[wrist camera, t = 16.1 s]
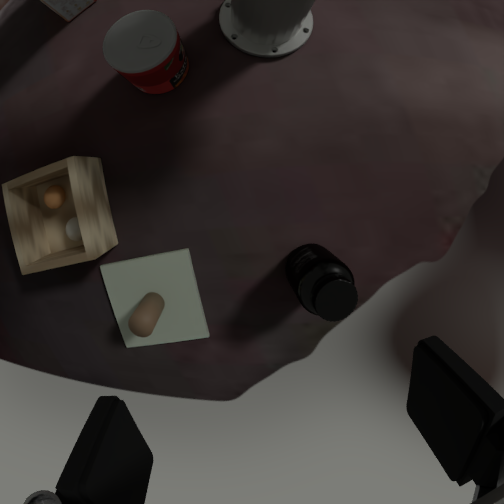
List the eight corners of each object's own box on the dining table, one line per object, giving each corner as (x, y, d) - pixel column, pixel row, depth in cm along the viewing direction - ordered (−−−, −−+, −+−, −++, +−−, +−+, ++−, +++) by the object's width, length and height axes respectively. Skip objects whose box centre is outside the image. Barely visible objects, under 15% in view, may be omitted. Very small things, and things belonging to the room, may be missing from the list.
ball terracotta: (49, 187, 37) (37, 189, 34) (67, 181, 37) (55, 182, 34) (53, 209, 38) (42, 212, 35) (71, 204, 38) (60, 207, 35)
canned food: (189, 93, 36) (174, 66, 26) (130, 99, 36) (98, 77, 25) (191, 42, 34) (178, 4, 24) (133, 49, 34) (106, 16, 23)
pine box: (33, 180, 37) (1, 184, 30) (100, 157, 37) (73, 155, 30) (51, 258, 40) (22, 275, 33) (118, 243, 40) (95, 259, 33)
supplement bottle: (287, 294, 44) (305, 336, 32) (282, 246, 42) (300, 274, 30) (334, 286, 44) (366, 323, 32) (331, 239, 42) (366, 263, 30)
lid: (102, 263, 42) (78, 282, 34) (188, 247, 42) (179, 264, 34) (128, 343, 45) (112, 373, 37) (209, 333, 45) (205, 364, 37)
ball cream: (70, 218, 38) (59, 221, 35) (88, 212, 38) (78, 216, 35) (75, 240, 39) (64, 245, 36) (94, 235, 39) (84, 240, 36)
